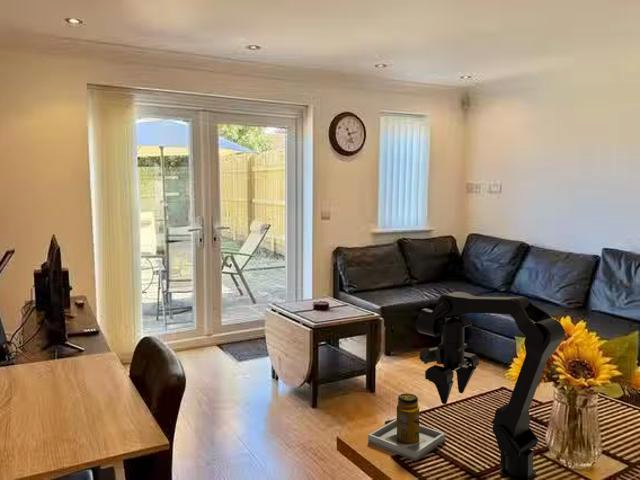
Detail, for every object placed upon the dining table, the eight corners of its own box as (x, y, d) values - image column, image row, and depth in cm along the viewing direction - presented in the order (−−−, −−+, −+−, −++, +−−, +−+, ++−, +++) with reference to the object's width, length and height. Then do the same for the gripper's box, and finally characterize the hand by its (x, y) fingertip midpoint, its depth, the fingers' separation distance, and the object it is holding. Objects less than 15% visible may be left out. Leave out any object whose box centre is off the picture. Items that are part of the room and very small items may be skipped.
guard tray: (445, 441, 145) (445, 433, 145) (415, 461, 135) (415, 453, 135) (398, 424, 156) (398, 417, 155) (368, 442, 146) (368, 434, 145)
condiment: (426, 440, 144) (426, 397, 143) (402, 449, 139) (402, 405, 138) (407, 430, 150) (407, 389, 149) (384, 439, 145) (383, 396, 144)
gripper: (442, 327, 152) (442, 381, 154) (406, 343, 138) (407, 401, 140) (479, 334, 145) (479, 390, 146) (445, 351, 131) (445, 413, 132)
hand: (452, 398), depth 141 cm, fingers open, 9 cm apart
